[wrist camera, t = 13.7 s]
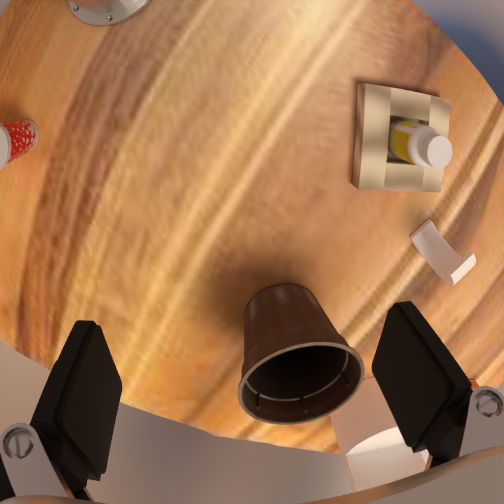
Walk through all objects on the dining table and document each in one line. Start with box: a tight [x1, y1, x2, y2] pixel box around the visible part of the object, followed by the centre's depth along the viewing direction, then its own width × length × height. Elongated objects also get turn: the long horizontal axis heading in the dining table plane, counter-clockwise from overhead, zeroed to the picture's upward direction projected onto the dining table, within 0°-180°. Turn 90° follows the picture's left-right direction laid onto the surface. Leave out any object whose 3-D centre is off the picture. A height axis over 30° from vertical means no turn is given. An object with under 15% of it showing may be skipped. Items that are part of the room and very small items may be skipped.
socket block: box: [352, 83, 450, 192], centre depth 39 cm, size 14×14×2 cm
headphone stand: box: [409, 219, 476, 286], centre depth 43 cm, size 5×6×12 cm
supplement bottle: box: [388, 120, 452, 168], centre depth 35 cm, size 5×5×10 cm
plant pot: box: [238, 284, 365, 425], centre depth 44 cm, size 16×16×16 cm
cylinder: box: [329, 377, 426, 493], centre depth 54 cm, size 17×17×28 cm
